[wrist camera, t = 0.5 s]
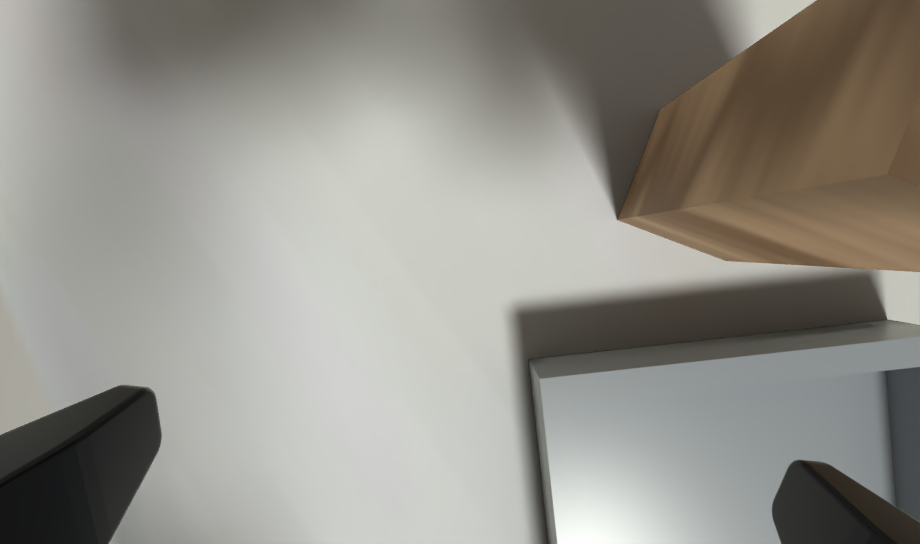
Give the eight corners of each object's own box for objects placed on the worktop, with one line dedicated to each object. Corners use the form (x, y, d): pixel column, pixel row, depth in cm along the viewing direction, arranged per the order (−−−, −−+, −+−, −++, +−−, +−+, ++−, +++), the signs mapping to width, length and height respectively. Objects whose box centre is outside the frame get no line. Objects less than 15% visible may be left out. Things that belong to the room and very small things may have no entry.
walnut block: (725, 260, 20) (1192, 287, 7) (617, 219, 20) (893, 173, 7) (770, 150, 20) (1332, -24, 7) (660, 108, 20) (1024, -145, 7)
